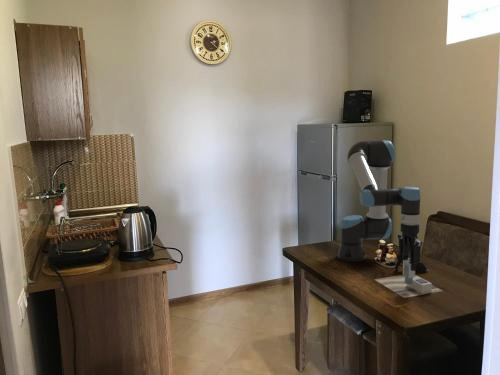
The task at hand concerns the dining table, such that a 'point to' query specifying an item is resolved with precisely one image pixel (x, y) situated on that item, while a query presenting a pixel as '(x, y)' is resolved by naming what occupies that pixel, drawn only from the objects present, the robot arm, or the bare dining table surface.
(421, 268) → the gun
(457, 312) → the dining table surface
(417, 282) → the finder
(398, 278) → the panel
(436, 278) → the dining table surface
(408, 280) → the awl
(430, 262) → the dining table surface
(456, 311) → the dining table surface
